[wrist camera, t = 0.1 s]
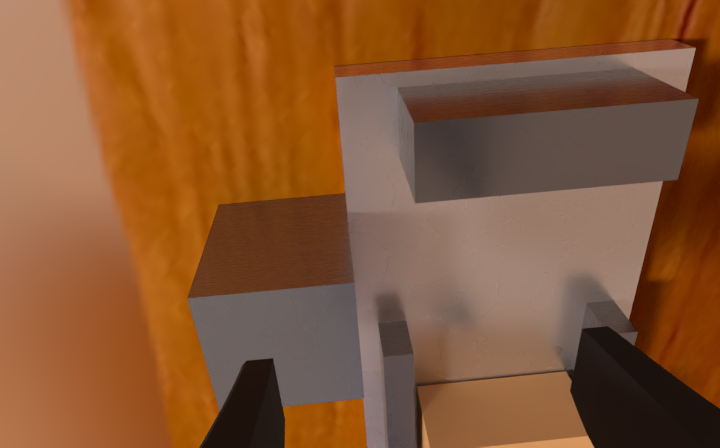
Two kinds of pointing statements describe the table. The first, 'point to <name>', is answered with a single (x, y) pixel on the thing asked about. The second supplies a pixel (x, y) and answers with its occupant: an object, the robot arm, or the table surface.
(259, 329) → the housing
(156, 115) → the table surface
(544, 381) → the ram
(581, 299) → the frame
